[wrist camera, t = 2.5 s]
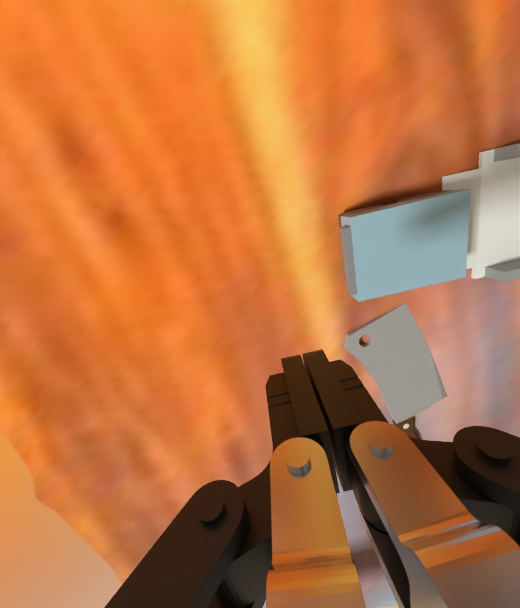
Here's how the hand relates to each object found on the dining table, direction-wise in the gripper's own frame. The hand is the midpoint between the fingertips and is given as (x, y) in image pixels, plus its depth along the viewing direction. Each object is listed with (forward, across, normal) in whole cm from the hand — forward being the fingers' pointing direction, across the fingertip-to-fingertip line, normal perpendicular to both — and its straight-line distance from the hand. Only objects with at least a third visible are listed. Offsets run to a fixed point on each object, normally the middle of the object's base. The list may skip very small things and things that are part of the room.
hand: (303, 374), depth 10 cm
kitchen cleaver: (+18, -14, +19) cm, 29 cm away
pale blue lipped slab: (+17, -12, 0) cm, 21 cm away
